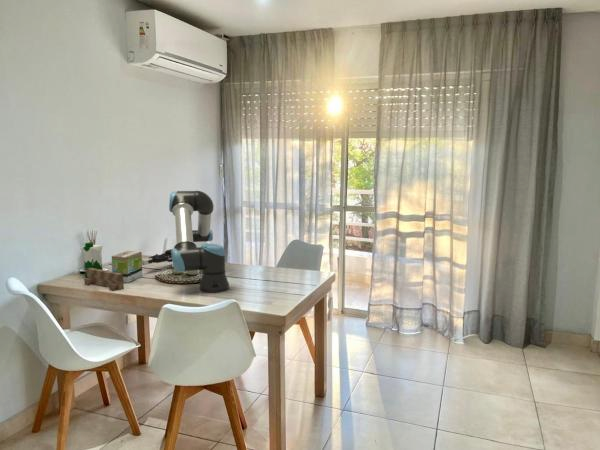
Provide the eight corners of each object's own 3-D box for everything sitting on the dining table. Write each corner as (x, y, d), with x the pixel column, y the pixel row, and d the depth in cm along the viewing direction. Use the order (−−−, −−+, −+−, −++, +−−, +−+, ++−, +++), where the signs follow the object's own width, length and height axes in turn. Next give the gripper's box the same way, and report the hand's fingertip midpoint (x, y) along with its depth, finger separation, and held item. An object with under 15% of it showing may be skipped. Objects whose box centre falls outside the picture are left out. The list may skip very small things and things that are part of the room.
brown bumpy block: (123, 288, 247) (122, 273, 246) (115, 291, 242) (114, 276, 241) (91, 281, 260) (90, 267, 258) (82, 284, 255) (81, 269, 254)
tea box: (128, 283, 257) (127, 256, 254) (112, 282, 259) (110, 256, 256) (143, 276, 271) (141, 251, 269) (127, 275, 273) (125, 250, 271)
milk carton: (82, 277, 268) (79, 243, 265) (94, 274, 276) (92, 240, 273) (94, 279, 265) (91, 244, 261) (106, 275, 273) (104, 241, 270)
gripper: (180, 262, 291) (151, 270, 271) (165, 259, 298) (135, 267, 278) (180, 250, 290) (150, 257, 270) (165, 248, 297) (134, 255, 277)
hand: (143, 262), depth 274 cm, fingers closed
